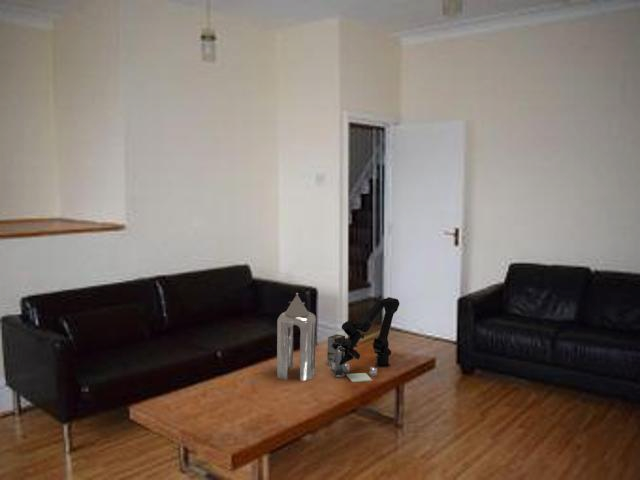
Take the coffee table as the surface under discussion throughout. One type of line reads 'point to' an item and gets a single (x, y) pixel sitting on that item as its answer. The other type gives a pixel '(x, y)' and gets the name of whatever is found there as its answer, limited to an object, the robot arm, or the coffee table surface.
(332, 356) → the coffee box
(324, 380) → the coffee table surface
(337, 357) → the standoff
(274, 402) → the coffee table surface
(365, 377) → the pad
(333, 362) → the cylinder
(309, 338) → the grey metal tall arch
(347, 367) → the cylinder
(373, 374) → the cylinder
